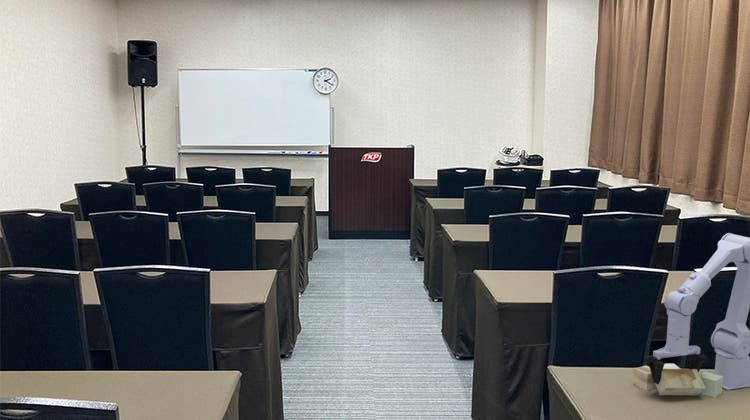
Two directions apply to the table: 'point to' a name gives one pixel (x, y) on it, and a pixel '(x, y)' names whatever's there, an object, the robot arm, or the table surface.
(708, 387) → the cube sage
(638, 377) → the cube beech
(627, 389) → the table surface
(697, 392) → the skincare box
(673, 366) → the cube cream
